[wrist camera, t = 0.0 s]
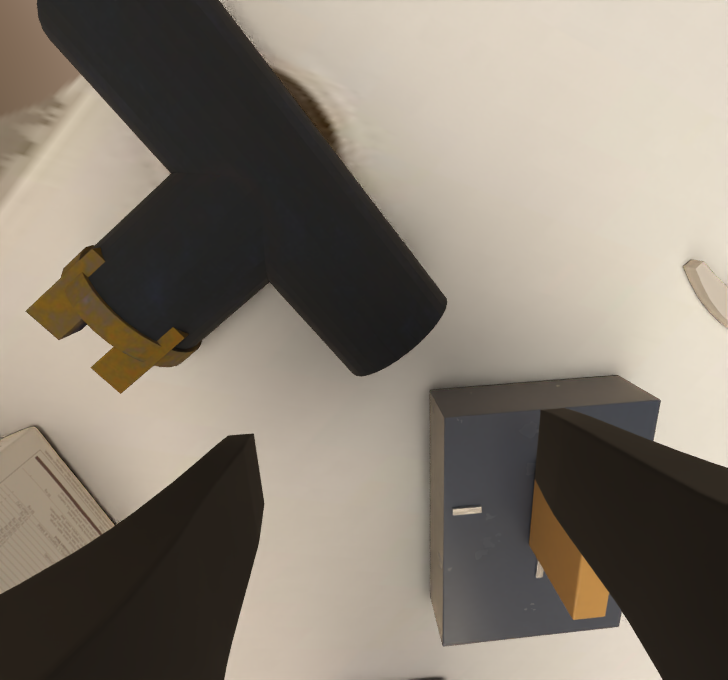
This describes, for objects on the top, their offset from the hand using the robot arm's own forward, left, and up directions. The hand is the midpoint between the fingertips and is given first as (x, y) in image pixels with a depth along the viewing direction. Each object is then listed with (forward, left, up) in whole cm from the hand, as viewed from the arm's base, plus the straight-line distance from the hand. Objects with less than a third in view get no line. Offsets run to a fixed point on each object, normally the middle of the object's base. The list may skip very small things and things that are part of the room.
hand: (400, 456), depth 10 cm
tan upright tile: (-8, -8, -7) cm, 13 cm away
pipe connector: (+5, +6, -10) cm, 13 cm away
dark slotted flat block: (-10, -8, -10) cm, 16 cm away
